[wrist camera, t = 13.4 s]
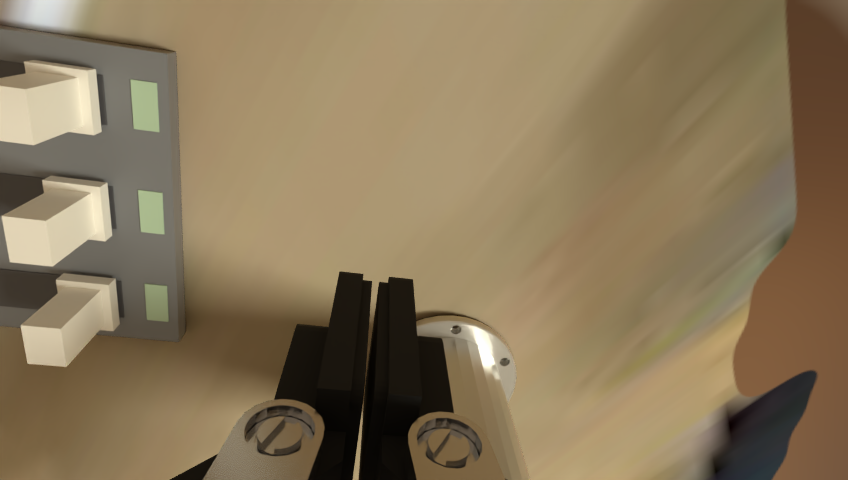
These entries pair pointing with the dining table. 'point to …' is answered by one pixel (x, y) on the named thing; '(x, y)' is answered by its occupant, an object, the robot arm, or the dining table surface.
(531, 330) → the dining table surface
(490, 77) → the dining table surface
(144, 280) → the console
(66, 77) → the breaker near
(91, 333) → the breaker far
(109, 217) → the breaker mid
